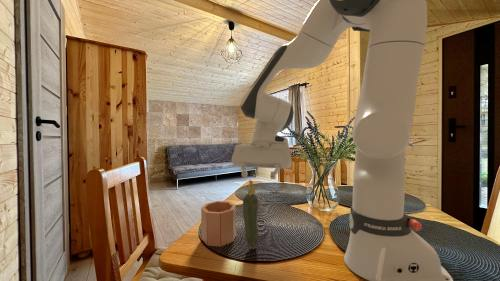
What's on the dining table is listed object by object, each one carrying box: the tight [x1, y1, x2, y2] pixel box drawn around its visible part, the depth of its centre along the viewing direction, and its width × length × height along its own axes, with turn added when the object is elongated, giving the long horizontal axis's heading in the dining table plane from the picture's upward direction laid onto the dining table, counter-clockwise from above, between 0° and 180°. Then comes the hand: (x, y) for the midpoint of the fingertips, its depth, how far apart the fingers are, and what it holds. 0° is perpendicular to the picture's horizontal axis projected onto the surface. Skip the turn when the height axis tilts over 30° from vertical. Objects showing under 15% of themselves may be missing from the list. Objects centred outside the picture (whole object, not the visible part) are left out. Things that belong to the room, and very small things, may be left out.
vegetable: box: [242, 179, 259, 249], centre depth 65 cm, size 4×4×20 cm
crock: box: [200, 200, 237, 248], centre depth 73 cm, size 10×10×10 cm
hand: (258, 177), depth 74 cm, fingers open, 8 cm apart
